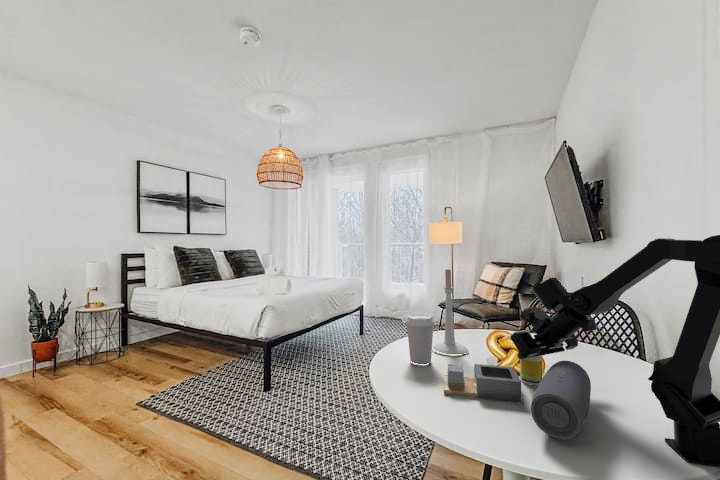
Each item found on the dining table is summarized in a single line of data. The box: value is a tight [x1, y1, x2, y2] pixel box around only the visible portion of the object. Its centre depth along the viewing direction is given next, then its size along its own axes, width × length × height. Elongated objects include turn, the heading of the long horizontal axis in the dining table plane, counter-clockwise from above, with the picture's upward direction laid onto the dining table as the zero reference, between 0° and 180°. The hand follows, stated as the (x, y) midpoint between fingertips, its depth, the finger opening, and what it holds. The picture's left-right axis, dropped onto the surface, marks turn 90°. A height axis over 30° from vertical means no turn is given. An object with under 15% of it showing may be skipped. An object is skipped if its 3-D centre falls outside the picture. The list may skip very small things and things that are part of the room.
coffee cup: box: [404, 313, 436, 364], centre depth 104 cm, size 10×10×15 cm
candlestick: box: [432, 268, 469, 354], centre depth 116 cm, size 13×13×30 cm
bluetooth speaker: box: [530, 360, 592, 440], centre depth 69 cm, size 23×9×10 cm, turn 141°
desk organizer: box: [443, 363, 523, 404], centre depth 83 cm, size 10×18×5 cm, turn 73°
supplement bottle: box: [519, 355, 543, 386], centre depth 88 cm, size 5×5×10 cm
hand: (526, 356), depth 89 cm, fingers closed on supplement bottle, 5 cm apart
